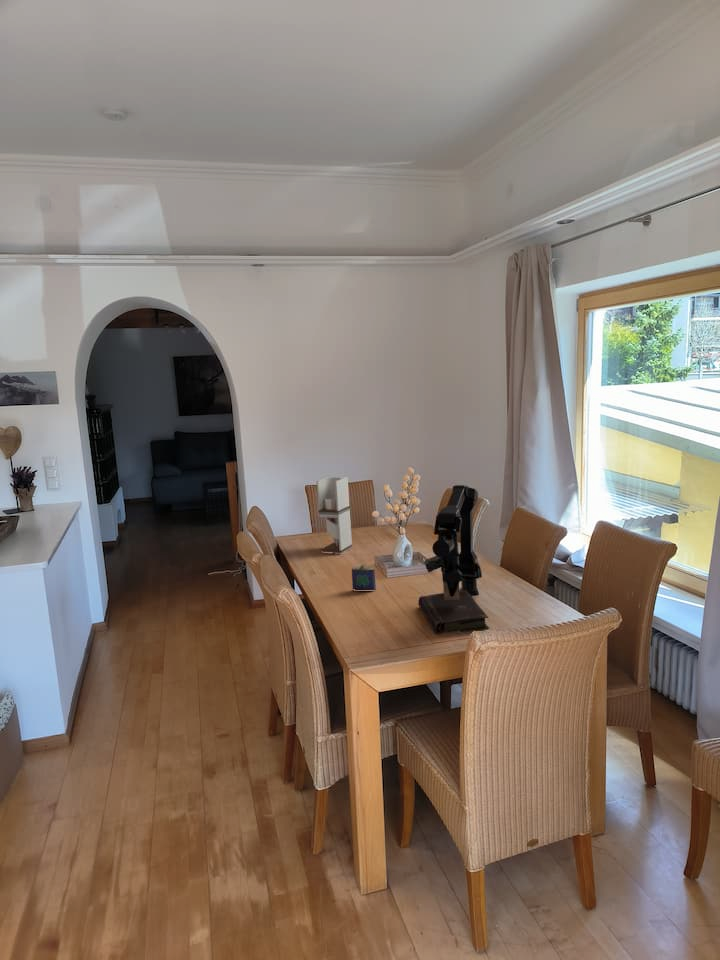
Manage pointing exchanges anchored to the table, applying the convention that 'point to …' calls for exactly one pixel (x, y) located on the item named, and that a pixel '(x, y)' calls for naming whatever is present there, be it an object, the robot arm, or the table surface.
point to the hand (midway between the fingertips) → (451, 593)
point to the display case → (335, 512)
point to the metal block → (447, 594)
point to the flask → (363, 578)
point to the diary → (453, 613)
